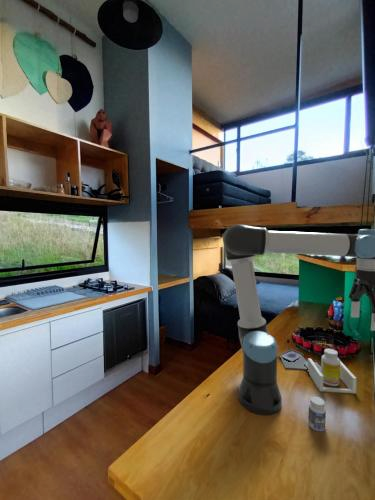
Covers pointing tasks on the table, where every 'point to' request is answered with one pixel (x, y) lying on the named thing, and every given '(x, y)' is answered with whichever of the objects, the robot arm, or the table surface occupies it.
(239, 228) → the robot arm
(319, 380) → the holder
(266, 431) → the table surface
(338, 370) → the supplement bottle
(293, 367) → the trivet
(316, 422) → the pill bottle
